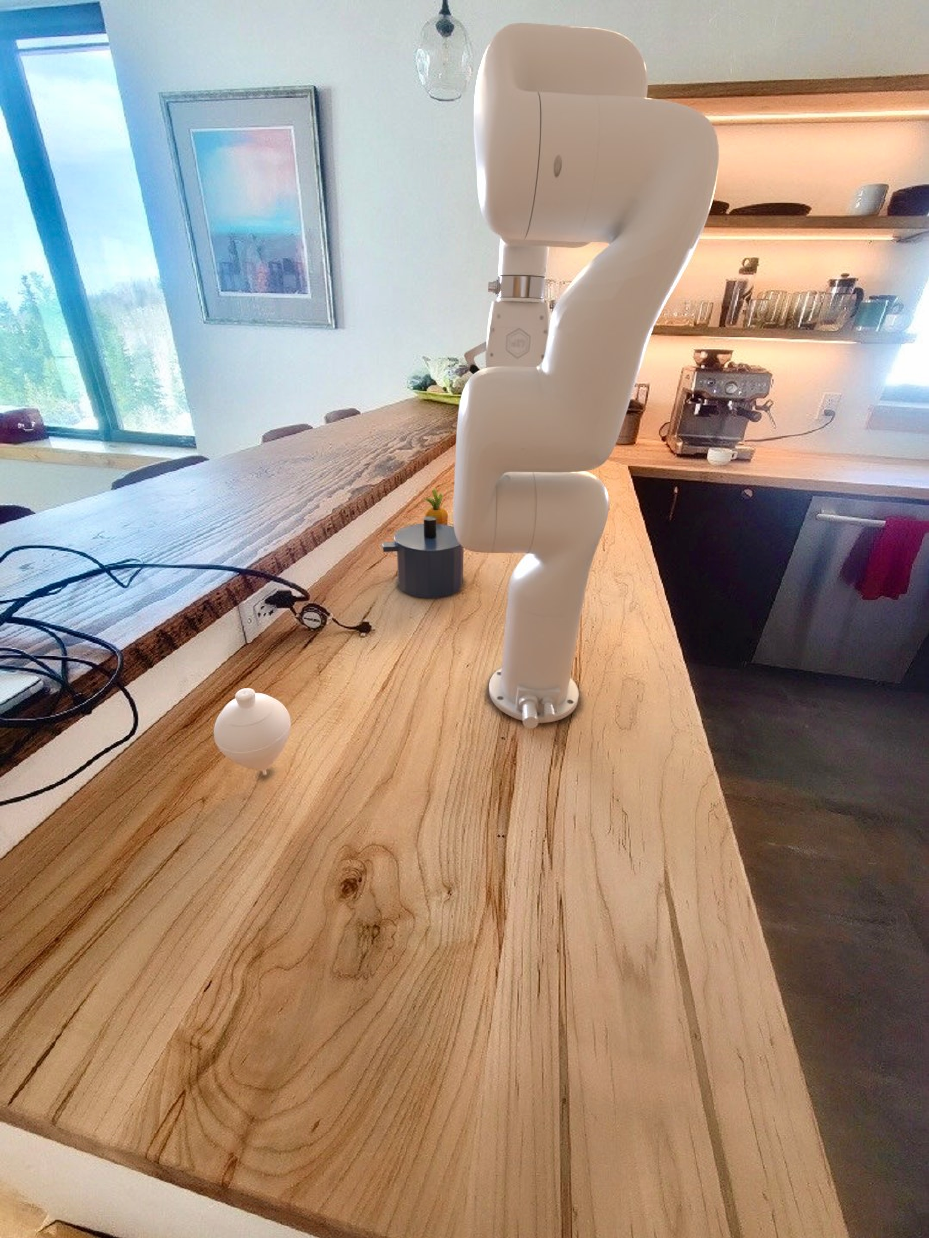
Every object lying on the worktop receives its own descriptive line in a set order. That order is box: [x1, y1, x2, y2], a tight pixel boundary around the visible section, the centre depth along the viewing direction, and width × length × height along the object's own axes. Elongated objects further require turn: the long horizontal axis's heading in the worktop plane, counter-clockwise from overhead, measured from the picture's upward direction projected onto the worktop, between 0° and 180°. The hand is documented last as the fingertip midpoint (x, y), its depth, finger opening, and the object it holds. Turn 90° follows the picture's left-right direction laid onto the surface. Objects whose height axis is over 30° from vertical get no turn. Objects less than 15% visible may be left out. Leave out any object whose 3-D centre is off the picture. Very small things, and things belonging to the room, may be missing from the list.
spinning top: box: [213, 687, 292, 776], centre depth 55 cm, size 8×8×12 cm
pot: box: [381, 541, 465, 599], centre depth 98 cm, size 13×18×10 cm
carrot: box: [424, 489, 449, 525], centre depth 107 cm, size 5×5×15 cm
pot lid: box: [393, 516, 461, 553], centre depth 94 cm, size 14×14×5 cm
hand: (512, 408), depth 88 cm, fingers open, 9 cm apart
